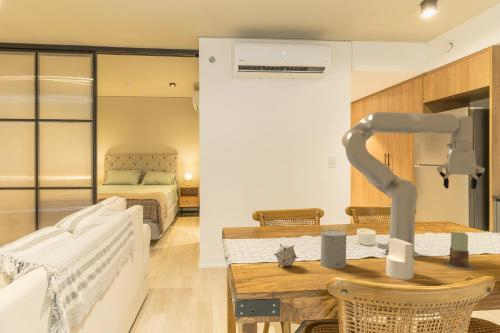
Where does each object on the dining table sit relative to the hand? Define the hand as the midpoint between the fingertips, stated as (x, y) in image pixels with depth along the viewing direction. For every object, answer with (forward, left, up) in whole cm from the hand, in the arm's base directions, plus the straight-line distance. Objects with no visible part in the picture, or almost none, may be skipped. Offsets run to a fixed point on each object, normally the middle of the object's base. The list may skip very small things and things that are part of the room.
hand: (459, 188), depth 146 cm
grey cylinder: (-49, -25, -28) cm, 62 cm away
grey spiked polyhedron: (-66, -32, -29) cm, 79 cm away
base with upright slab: (-26, -30, -29) cm, 49 cm away
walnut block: (-3, -13, -28) cm, 31 cm away
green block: (-3, -13, -22) cm, 26 cm away
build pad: (-3, -13, -28) cm, 31 cm away
